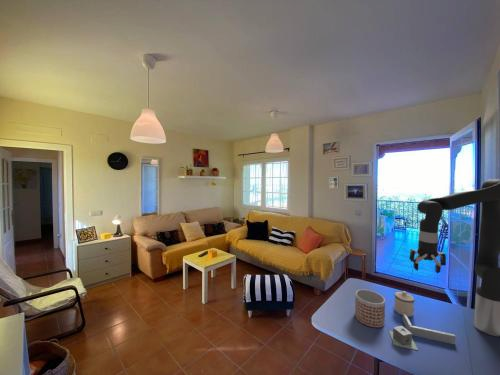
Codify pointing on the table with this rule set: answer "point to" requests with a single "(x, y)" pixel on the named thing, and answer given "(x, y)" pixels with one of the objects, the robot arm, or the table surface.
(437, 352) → the table surface
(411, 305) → the teacup with lid
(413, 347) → the mat
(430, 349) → the table surface
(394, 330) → the dice cube
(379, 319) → the planter
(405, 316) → the pen walls
